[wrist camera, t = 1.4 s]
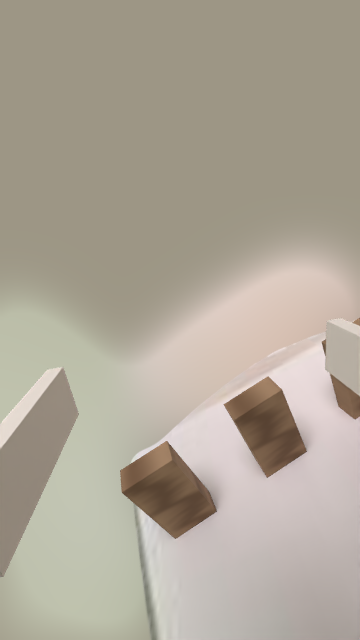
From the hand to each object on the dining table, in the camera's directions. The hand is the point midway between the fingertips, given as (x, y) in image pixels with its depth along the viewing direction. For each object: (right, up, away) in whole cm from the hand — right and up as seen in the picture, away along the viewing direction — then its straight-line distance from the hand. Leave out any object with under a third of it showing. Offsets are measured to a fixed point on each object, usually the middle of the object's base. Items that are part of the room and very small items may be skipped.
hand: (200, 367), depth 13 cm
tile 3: (+1, -22, +20) cm, 30 cm away
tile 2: (+12, -15, +20) cm, 28 cm away
